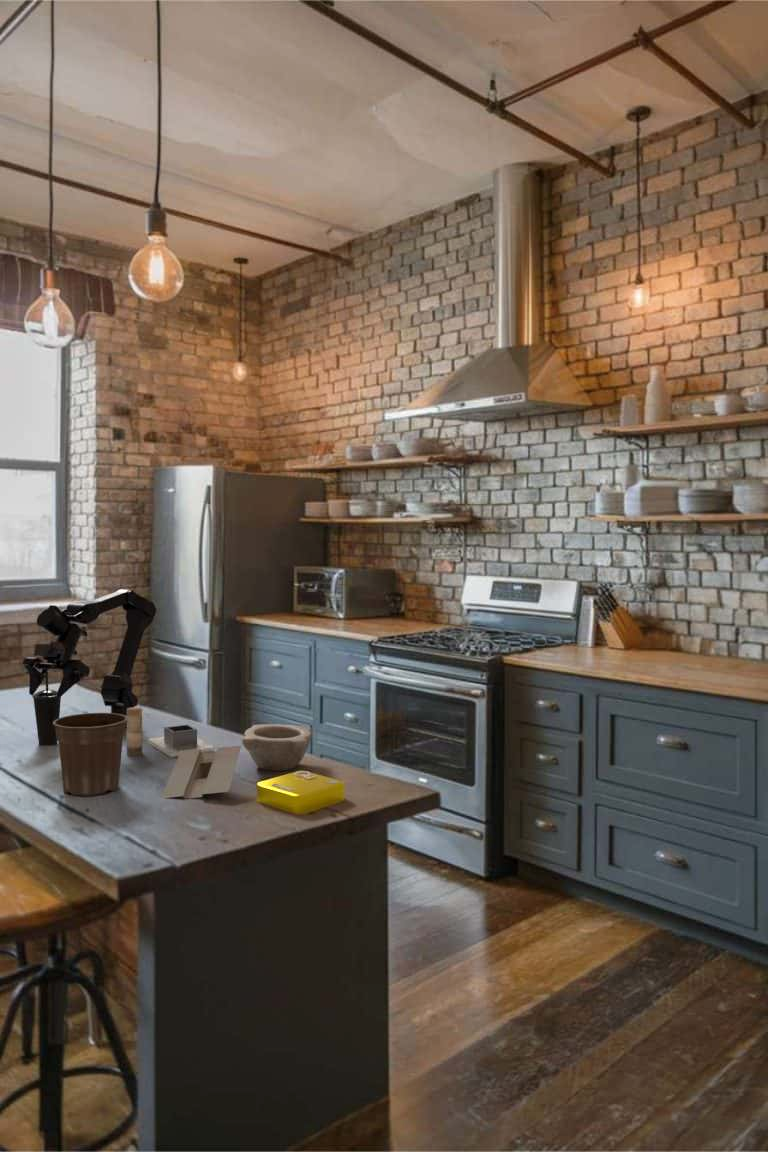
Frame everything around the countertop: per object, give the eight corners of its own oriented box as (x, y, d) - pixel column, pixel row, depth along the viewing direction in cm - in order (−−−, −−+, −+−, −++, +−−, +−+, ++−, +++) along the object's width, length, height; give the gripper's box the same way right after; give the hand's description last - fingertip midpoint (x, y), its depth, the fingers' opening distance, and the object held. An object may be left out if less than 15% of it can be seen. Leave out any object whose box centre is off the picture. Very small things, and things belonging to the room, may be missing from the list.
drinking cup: (67, 740, 243) (66, 669, 241) (55, 747, 235) (53, 674, 234) (41, 739, 243) (40, 668, 242) (28, 746, 236) (26, 673, 235)
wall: (242, 812, 196) (251, 756, 206) (229, 791, 190) (239, 735, 200) (174, 818, 198) (187, 763, 209) (159, 798, 193) (173, 742, 203)
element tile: (252, 802, 192) (252, 780, 191) (301, 787, 203) (301, 767, 203) (299, 817, 182) (300, 794, 182) (348, 801, 193) (348, 779, 193)
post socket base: (148, 743, 241) (148, 724, 241) (189, 737, 248) (189, 719, 247) (171, 757, 226) (171, 737, 226) (214, 751, 233) (214, 732, 233)
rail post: (129, 751, 232) (129, 707, 231) (144, 751, 231) (144, 707, 231) (124, 755, 228) (124, 710, 227) (139, 755, 227) (139, 710, 227)
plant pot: (53, 782, 203) (53, 714, 202) (125, 775, 209) (125, 709, 208) (53, 802, 188) (52, 729, 187) (130, 795, 194) (130, 724, 193)
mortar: (305, 777, 210) (305, 739, 210) (236, 774, 211) (237, 737, 211) (315, 759, 227) (316, 724, 226) (252, 756, 228) (252, 722, 228)
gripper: (21, 628, 236) (-3, 681, 229) (76, 631, 230) (54, 685, 222) (45, 647, 245) (24, 698, 238) (99, 650, 239) (79, 702, 231)
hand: (44, 695), depth 232 cm, fingers open, 9 cm apart
